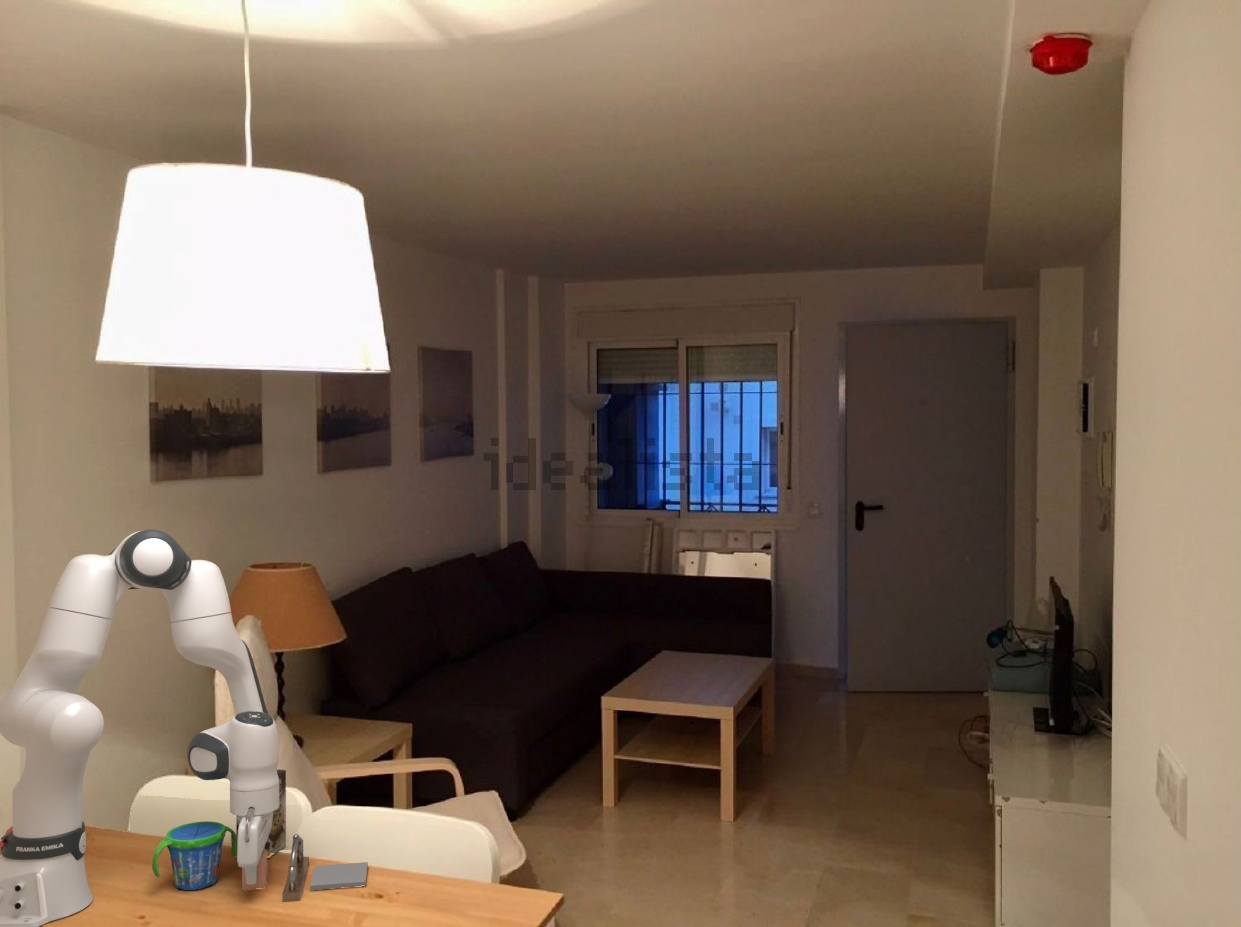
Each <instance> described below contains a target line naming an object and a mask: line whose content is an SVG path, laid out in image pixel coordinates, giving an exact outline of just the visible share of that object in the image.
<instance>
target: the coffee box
mask: <svg viewBox="0 0 1241 927" xmlns="http://www.w3.org/2000/svg"><path fill="white" fill-rule="evenodd" d="M277 774H278V777H279V808H278V809H277V810H275V811H273V821H272V827H271V831H270V834H269V836H268V839H267V842H266V844H265V849H267V856H269V855H270V853H276V854H278V853H279V852H281V851H283V850H284V849H285V848H286V847H287V770H286V769H277ZM235 816H236V821H235V822H236V824H235V825H236V827H235V828H236V831H235V832H236V836H237V839H238V828H239V824H240V822H239V821H238V820H237V815H235ZM236 858H237V856H236V857H235V859H236Z"/></svg>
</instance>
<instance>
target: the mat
mask: <svg viewBox="0 0 1241 927" xmlns="http://www.w3.org/2000/svg"><path fill="white" fill-rule="evenodd" d="M367 868H369V863H368V861H366V862H365V861H363V862H353V863H351V862H350V863H340V864H339V863H337V864H327V865H326V864H325V865H323V864H322V865H315V866H314V870H313V873H312V876H311V882H310V885H309V887H310V888H309V889H310V890H309V891H310V892H315V891H314V890H319V891H321V890H320V889H331V888H341V887H355V886H361V885H367V879H366V877H367V878H368V870H367Z"/></svg>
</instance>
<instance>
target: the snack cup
mask: <svg viewBox="0 0 1241 927" xmlns="http://www.w3.org/2000/svg"><path fill="white" fill-rule="evenodd" d="M227 832H229V833H230V839H231V850H230V854H231V857H234V858H236V856H237V842H238V839H237V836H236V833H235V832H236V831H234V830H233V829H232V828H230V827H229V826H226V825H224V824H223V823H220V822H217V821H195V822H194V821H193V822H189V823H185V824H182V825H178V826H175V827H174V828H172V829H170V830H169V831H168V832H166V835H165V837H164V839H162V840H161V841H160V842H159V843H158V845H157V847H156V848H155V851H154V853H153V855H152V862H151V867H152V871H153V874H154V876H155V877H156V878H160V871H159V870H160V869H159V863H158V859H159V856H160V854H161V853H162V852H163V850H164V849H165V848H166V847H167V850H168V853H169V857H170V861H171V869H172V873H173V875H172V876H173V880H174V884H175V887H176V889H180V890H183V891H185V890H186V891H196V890H197V889H198V890H201V889H205V888H207V887H210V886H213V885H215V883H216V881H218V877H219V873H220V865H221V858H222V852H223V844H224V839H225V837H226V833H227ZM198 890H197V891H198Z"/></svg>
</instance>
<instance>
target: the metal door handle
mask: <svg viewBox="0 0 1241 927" xmlns="http://www.w3.org/2000/svg"><path fill="white" fill-rule="evenodd" d="M308 864H309V865H310V856H304V839H303V838H302V837H301V836H300V834H298V833H296V834H294V835H293V836H292V846H291V853H290V858H289V866H288V875H287V877H286V881H285V883H284V887H283V891H282V896H281V897H282V903H284V902H297V901H301V897H302V893H303V890H304V886H303V885H305V882H304V881H306V878H305V877H307V874H308V870H307V868H308V869H309V867H308ZM306 873H307V874H306ZM302 889H303V890H302Z"/></svg>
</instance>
